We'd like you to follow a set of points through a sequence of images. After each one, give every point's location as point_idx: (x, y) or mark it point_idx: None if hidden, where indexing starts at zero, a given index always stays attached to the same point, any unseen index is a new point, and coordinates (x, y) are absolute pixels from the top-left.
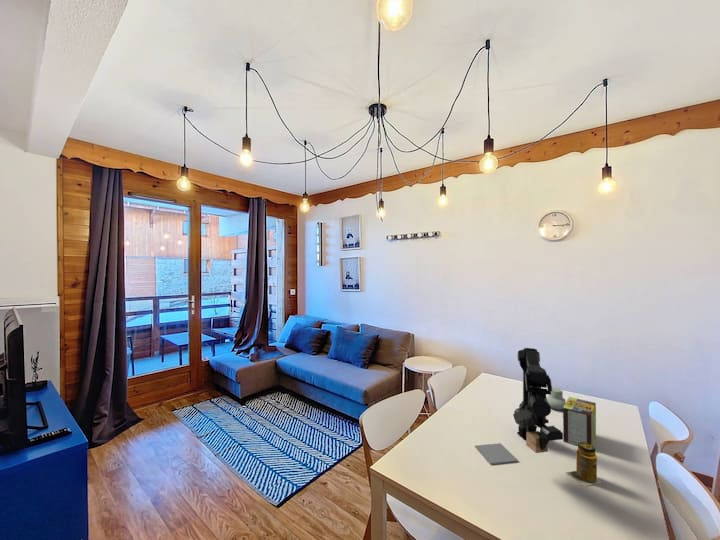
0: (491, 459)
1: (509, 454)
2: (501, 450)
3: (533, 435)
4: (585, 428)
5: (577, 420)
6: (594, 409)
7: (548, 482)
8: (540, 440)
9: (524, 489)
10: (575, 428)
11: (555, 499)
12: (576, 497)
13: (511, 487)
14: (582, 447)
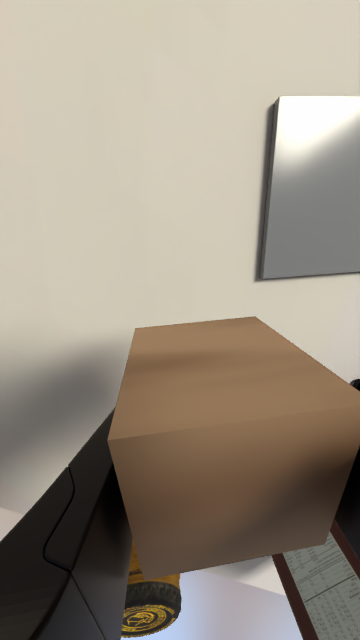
0: (304, 128)
1: (308, 262)
2: (344, 240)
3: (242, 460)
4: (304, 595)
5: (345, 623)
6: None
7: (126, 323)
8: (75, 493)
9: (76, 183)
10: (322, 563)
11: (23, 289)
12: (48, 370)
13: (87, 111)
14: (125, 607)
